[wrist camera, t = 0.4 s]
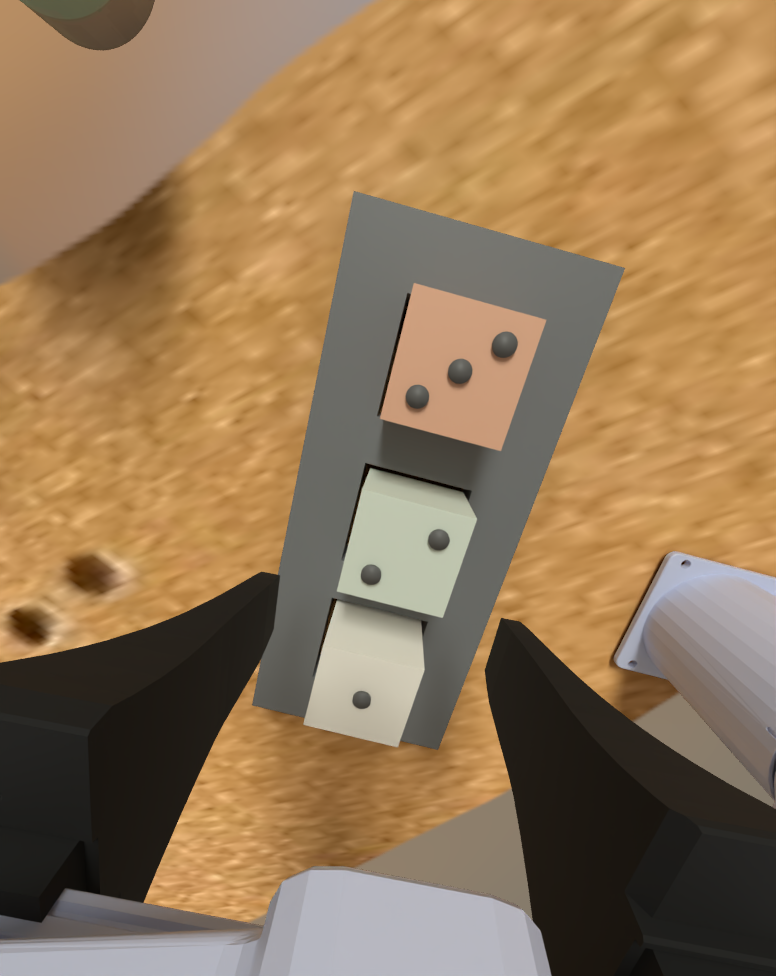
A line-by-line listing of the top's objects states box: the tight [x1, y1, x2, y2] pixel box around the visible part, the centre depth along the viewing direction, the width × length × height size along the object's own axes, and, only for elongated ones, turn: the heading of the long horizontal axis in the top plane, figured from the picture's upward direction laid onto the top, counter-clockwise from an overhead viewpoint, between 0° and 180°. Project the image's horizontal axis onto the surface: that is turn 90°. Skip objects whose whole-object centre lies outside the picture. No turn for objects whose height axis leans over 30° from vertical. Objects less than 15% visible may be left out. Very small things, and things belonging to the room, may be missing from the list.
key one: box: [303, 599, 425, 747], centre depth 21 cm, size 5×5×4 cm
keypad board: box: [252, 191, 625, 750], centre depth 21 cm, size 12×28×2 cm, turn 165°
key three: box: [380, 283, 546, 451], centre depth 16 cm, size 5×5×4 cm
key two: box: [337, 468, 477, 618], centre depth 18 cm, size 5×5×4 cm
